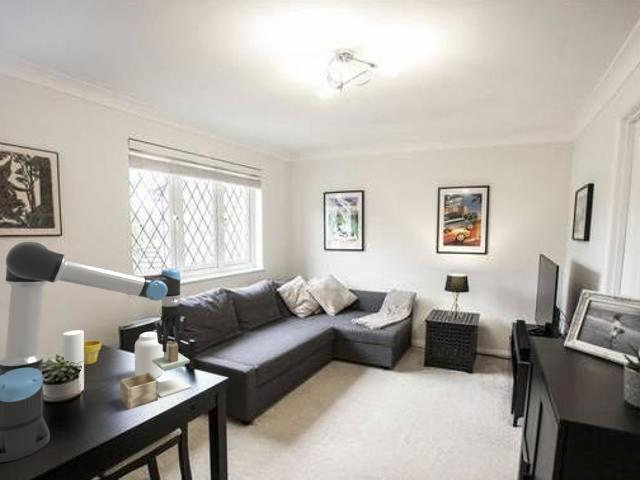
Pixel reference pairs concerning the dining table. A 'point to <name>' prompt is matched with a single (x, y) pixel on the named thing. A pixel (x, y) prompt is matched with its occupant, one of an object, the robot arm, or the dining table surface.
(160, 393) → the felt mat
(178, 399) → the dining table surface
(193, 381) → the dining table surface
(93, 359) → the plant pot
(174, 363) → the lid
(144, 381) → the storage box
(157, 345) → the white jar
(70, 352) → the cylindrical container
